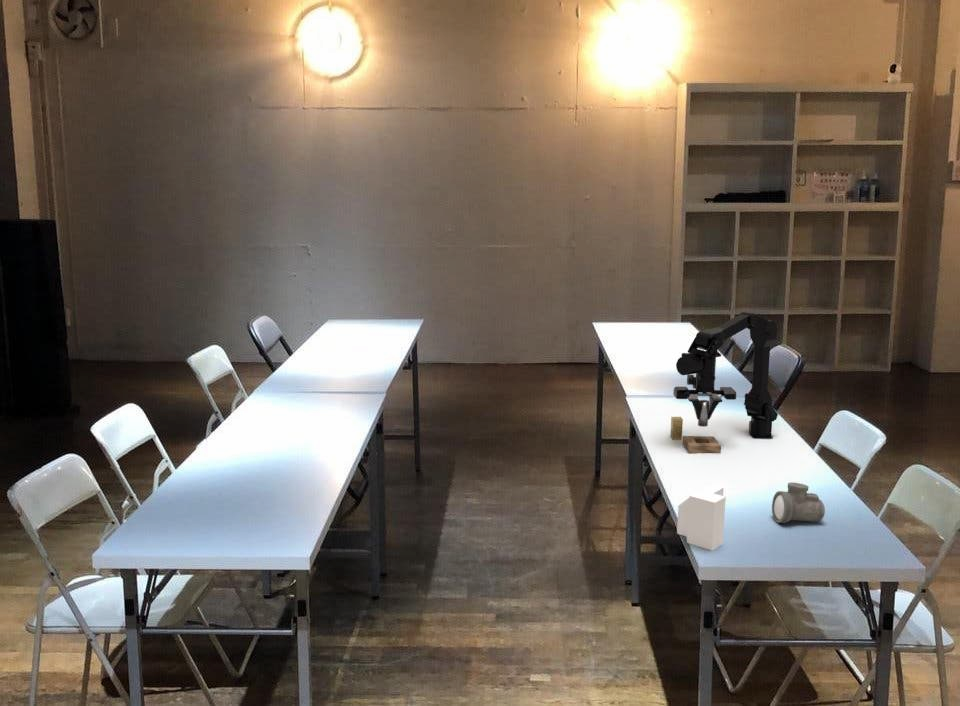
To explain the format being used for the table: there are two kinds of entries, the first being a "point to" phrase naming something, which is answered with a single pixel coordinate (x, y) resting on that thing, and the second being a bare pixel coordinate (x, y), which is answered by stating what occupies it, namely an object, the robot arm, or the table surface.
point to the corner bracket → (703, 517)
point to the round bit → (703, 413)
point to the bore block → (701, 444)
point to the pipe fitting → (797, 505)
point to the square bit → (676, 428)
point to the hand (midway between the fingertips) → (703, 419)
